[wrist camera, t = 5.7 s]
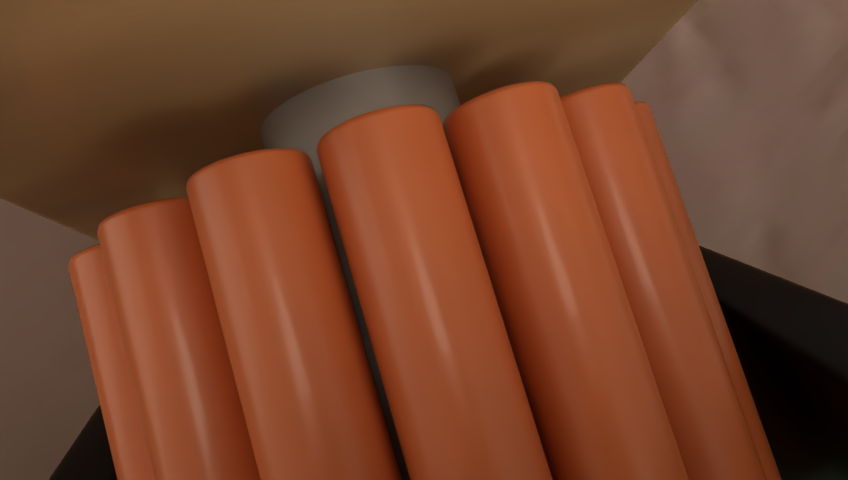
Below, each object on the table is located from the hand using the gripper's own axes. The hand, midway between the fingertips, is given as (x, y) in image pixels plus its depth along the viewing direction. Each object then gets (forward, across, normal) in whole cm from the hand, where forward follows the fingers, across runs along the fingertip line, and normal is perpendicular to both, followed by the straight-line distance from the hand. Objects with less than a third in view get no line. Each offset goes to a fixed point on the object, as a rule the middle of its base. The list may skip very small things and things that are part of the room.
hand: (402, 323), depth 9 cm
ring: (-2, 0, 0) cm, 2 cm away
